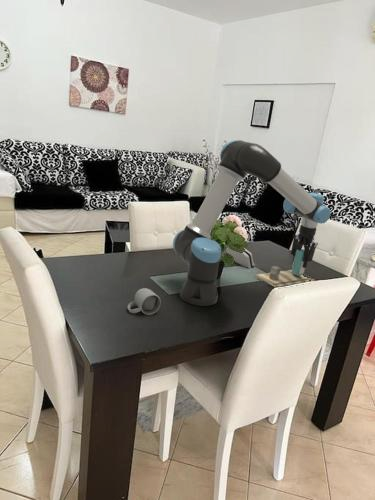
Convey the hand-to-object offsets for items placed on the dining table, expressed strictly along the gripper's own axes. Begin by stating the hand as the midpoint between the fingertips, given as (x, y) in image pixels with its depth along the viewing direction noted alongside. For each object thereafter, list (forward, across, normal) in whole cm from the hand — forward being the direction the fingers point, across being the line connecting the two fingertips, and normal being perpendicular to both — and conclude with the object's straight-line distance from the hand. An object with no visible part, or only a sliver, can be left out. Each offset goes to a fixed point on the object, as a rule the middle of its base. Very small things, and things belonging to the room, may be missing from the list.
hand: (297, 271), depth 192 cm
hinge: (+4, +25, +16) cm, 30 cm away
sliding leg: (+2, 0, 0) cm, 2 cm away
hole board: (+4, 0, +8) cm, 9 cm away
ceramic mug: (+4, -7, +88) cm, 89 cm away
